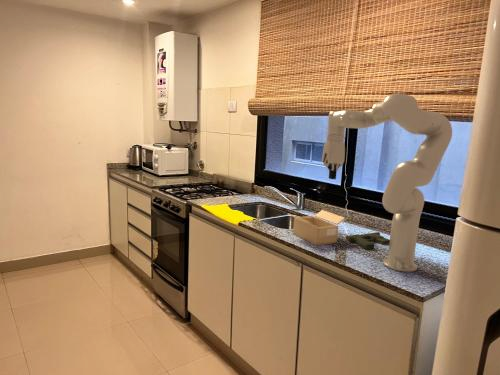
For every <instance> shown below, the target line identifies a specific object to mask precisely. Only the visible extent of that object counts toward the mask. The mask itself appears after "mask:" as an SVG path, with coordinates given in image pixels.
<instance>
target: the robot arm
mask: <svg viewBox="0 0 500 375" xmlns="http://www.w3.org/2000/svg"><path fill="white" fill-rule="evenodd" d="M327 121H328V122H327V135H326V141H325V142H324V146H323V148H322V156H321V163H322V164H323V166H324V167H327V170H328V179H329V180H336V179H337V172H338V170H339V168H340V167H342V166H344V163H345V157H346V156H345V155H346V146H345V142H344V141H345V139H346V136H345V131H346V130H345V128H347V129H365V128H371V127H375V126H378V125H380V124H383V123H388V122H395V123H396V124H397V125H398V126H399V127H401V128H402V129H404V130H405V131H406V132H408V133H409V134H412V135H422V136H425V139H424V140H423V141H422V143H421V144H420V145H419V147H418V149H417V152H416V154H415V156H414V157H413V159H412V160H406V161H402V162H401V163H399V164H398V165H397V166H396V167H395V168H394V170H393V172H392V174H391V176H390V178H389V180H388V183H387V185H386V188H385V190H384V192H383V195H382V206H383V208H384V209H385V211H387V213H389V214H390V213H391V214H393V216H392V220H391V227H390V233H389V234H390V237H389V240H390V242H389V244H388V245H389V246H388V252H387V257H386V258H384V259H382V264H383V266H385V267H386V268H389V269H391V270H395V271H399V272H404V273H408V272H409V273H412V272H415V271H417V270H418V265H417V264H416V263H415V262H414V261H415V252H416V245H417V240H418V239H417V238H418V231H419V227H420V226H419V225H420V219H421V215H422V212H423V208H424V205H425V196H424V193H423V192H422V190H420V189H419V188H421V187H424V186H427V185H429V184H430V183H431V181H432V180H433V178H434V177H435V176H434V175H435V174H436V171H437V169H438V168H439V165H440V163H441V161H442V159H443V157H444V155H445V153H446V152H447V149H448V147H449V146H450V143H451V140H452V137H453V128H452V127H453V126H452V124H451V122H450V120H449V119H448V118H447V117H446V116H445V115H443V114H442V113H440V112H436V111H433V110H432V111H431V110H424V109H423V110H422V109H421V108H419V102H418V100H417V98H415V97H414V96H412V95H409V94H405V93H404V94H403V93H398V92H397V93H392V94H389V95H387V97H385V98H384V100H382V101H377V102H375V103H374V104H373V106H372V108H371V109H368V110H363V111H360V110H351V109H346V110H332V111H330V112H329V113H328V120H327ZM418 187H419V188H418Z"/></svg>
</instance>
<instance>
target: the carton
mask: <svg viewBox="0 0 500 375" xmlns="http://www.w3.org/2000/svg"><path fill="white" fill-rule="evenodd" d="M298 217H299V218H301V219H304V220H306V221H308V222H311V223H313V224H315V225H317V227H316V226H313V225H311V224H309V223H306V222H304V221H301V220H299V219H296V218H294V217H293V218H294V220H293V229H292V230H293V231H292V233H293V234H292V235H294V236H296V237H298V238H300V239H303V240H304V241H307V242H308V243H311V244H313V245H314V246H321V245H322V246H323V245H328V244H336V243H338V237H339V236H338V234H339V225H336V224H334V223H331V222H328V221H326V220H323V219H321V218H318V217H315V216H313V215H311V216H309V215H308V216H307V215H306V216H298Z"/></svg>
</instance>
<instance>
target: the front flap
mask: <svg viewBox="0 0 500 375" xmlns="http://www.w3.org/2000/svg"><path fill="white" fill-rule="evenodd" d="M287 215H288V216H290V217H293V218H296V219H299V220H301V221H304V222H306V223H309V224H311V225H313V226H316V227H317V225H315V224H313V223H311V222H308V221H306V220H304V219H301V218H299V217H300V216H296V215H294V214H290V213H287Z"/></svg>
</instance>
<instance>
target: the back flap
mask: <svg viewBox="0 0 500 375" xmlns="http://www.w3.org/2000/svg"><path fill="white" fill-rule="evenodd" d="M314 217H316V218H318V219H321V220H324V221H326V222H329V223H332V224H334V225H337V226H339V224H340V223H342V222H343V221H344V220H346V218H345V217H344V216H341V215H338V214H335V213H333V212H330V211H326V210H323V209H322V210H320V211H319V212H317V213H316V214H315V215H314Z"/></svg>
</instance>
